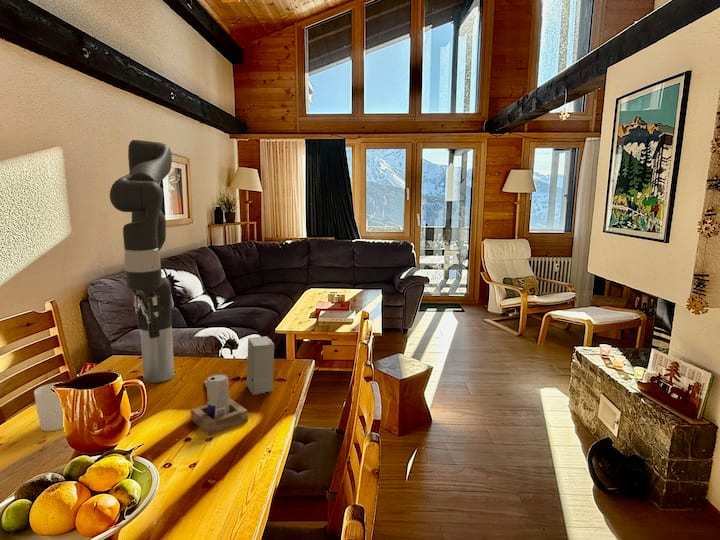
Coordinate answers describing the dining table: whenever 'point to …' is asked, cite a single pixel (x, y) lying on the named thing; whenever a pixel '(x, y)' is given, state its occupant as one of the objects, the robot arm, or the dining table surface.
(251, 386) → the skincare box
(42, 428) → the white cup
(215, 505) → the dining table surface
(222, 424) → the square open tray
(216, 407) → the energy drink
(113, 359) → the dining table surface
